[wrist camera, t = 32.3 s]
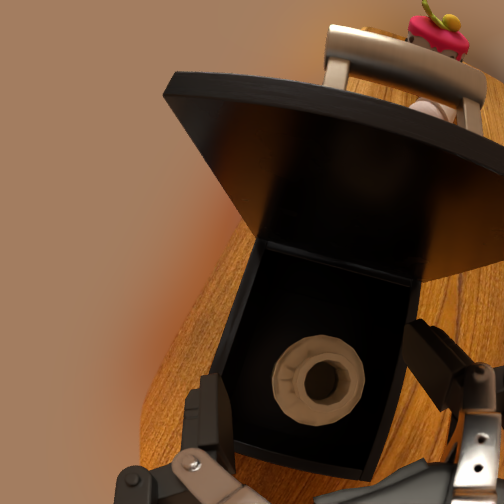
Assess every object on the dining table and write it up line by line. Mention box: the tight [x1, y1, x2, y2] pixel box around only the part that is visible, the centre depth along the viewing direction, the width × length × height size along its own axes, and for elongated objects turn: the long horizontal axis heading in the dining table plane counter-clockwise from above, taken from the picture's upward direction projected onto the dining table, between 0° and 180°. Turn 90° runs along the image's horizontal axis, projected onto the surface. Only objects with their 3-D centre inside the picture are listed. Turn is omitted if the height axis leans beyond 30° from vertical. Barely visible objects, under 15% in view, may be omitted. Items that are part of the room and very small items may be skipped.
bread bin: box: [208, 238, 421, 482], centre depth 21 cm, size 14×12×9 cm
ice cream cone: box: [409, 97, 457, 123], centre depth 32 cm, size 6×6×15 cm
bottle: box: [271, 335, 365, 426], centre depth 19 cm, size 6×6×10 cm
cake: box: [405, 0, 469, 62], centre depth 33 cm, size 10×11×15 cm
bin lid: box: [163, 24, 504, 283], centre depth 12 cm, size 14×12×6 cm
